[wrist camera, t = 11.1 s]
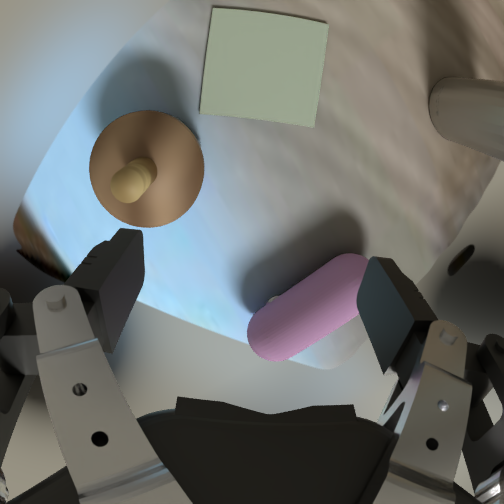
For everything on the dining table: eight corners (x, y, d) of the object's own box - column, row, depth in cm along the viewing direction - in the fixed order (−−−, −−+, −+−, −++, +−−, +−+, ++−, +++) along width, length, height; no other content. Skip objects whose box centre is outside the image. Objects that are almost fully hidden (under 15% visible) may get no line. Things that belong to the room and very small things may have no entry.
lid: (209, 113, 27) (202, 116, 22) (200, 228, 33) (193, 255, 27) (93, 111, 26) (64, 117, 21) (95, 219, 32) (72, 244, 26)
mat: (327, 25, 28) (328, 24, 27) (312, 127, 34) (313, 127, 33) (213, 9, 26) (213, 7, 26) (199, 113, 32) (199, 114, 32)
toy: (348, 230, 41) (233, 311, 45) (374, 259, 34) (236, 352, 38) (371, 268, 44) (265, 340, 49) (397, 301, 37) (273, 381, 41)
